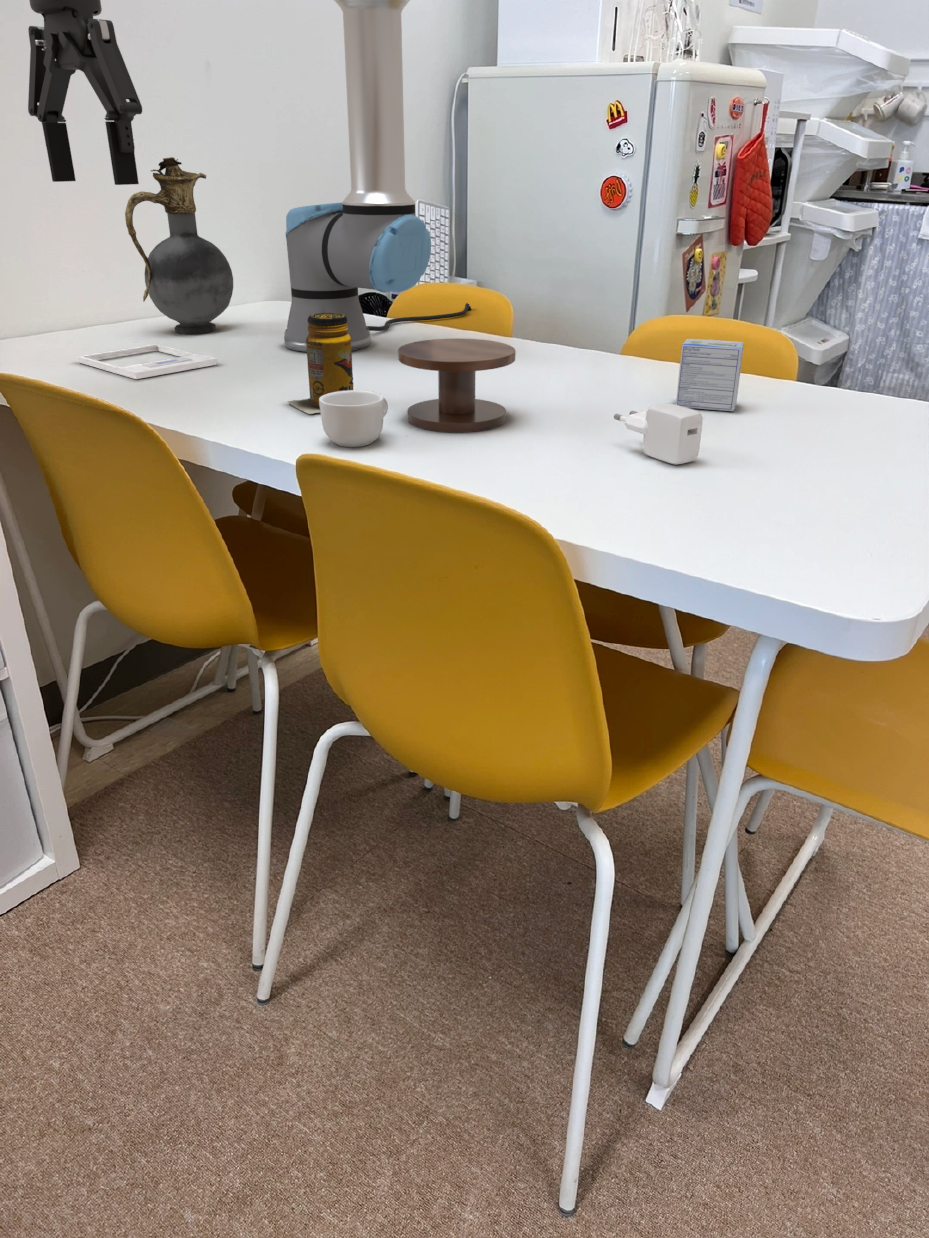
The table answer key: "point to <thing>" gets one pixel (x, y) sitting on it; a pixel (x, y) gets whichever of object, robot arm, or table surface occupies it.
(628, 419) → the power adapter
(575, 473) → the table surface
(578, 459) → the table surface
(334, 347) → the condiment
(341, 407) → the teacup
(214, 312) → the pitcher
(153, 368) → the photo frame
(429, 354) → the stand
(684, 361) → the medicine box
